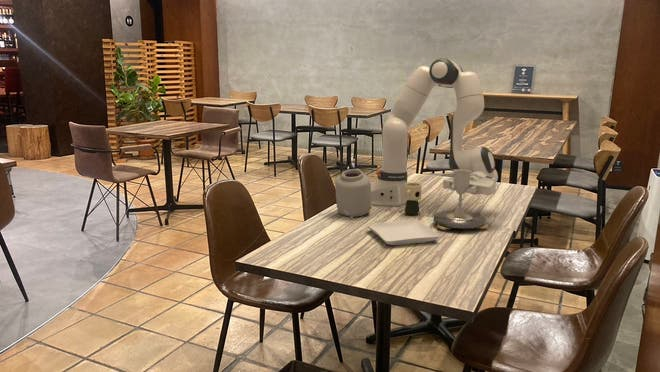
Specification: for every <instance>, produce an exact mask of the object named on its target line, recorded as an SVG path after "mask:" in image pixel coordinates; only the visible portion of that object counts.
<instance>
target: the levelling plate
mask: <svg viewBox="0 0 660 372" xmlns="http://www.w3.org/2000/svg"><path fill="white" fill-rule="evenodd" d="M456 210H457V209H455V210H453V209H452V210H451V209H449V210H441V211H438V212H435V213H434V214H433V222H434V223H435V224H436V228H437V229H438V230H442V231H451V230H452V229H463V230H464V229H465V230H466V229H467V230H469V229H470V230H471V229H472V230H480V231H481V230H485V229H486V230H487V229H488V228H489V225H488V224H487V223H486V222H487V221H486V220H487V218H486V217H485V216H484V215H482V214H480V213H477V212H474V211H469V210H464V211H465V215H466V217H463V218H459V217H454V216H453V214H454V212H455V211H456Z"/></svg>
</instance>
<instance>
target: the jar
mask: <svg viewBox="0 0 660 372" xmlns="http://www.w3.org/2000/svg"><path fill="white" fill-rule="evenodd" d="M351 161H353V158H351ZM351 164H352V167H355V164H354V163H353V162H351ZM349 168H350V167H349V166H347V169H346V170H343V171H341V174H340V175H339V176H337V178H336V179H335V180H334V181H335V182H334V186H335V198H336V199H335V201H336V208H337V212H338V213H340V214H341V215H343V216H346V217H348V218H356V217H357V218H358V217H361V216H364V215H366V214H368V213H369V212H370V211H371V210H372V206H373V205H372V204H371V185H370V184H371V179H370V177H369V176H368V175H367V174H365V173H364V172H363V171H362V170H361V169H359V168H355V169H354V168H353V169H349Z"/></svg>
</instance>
